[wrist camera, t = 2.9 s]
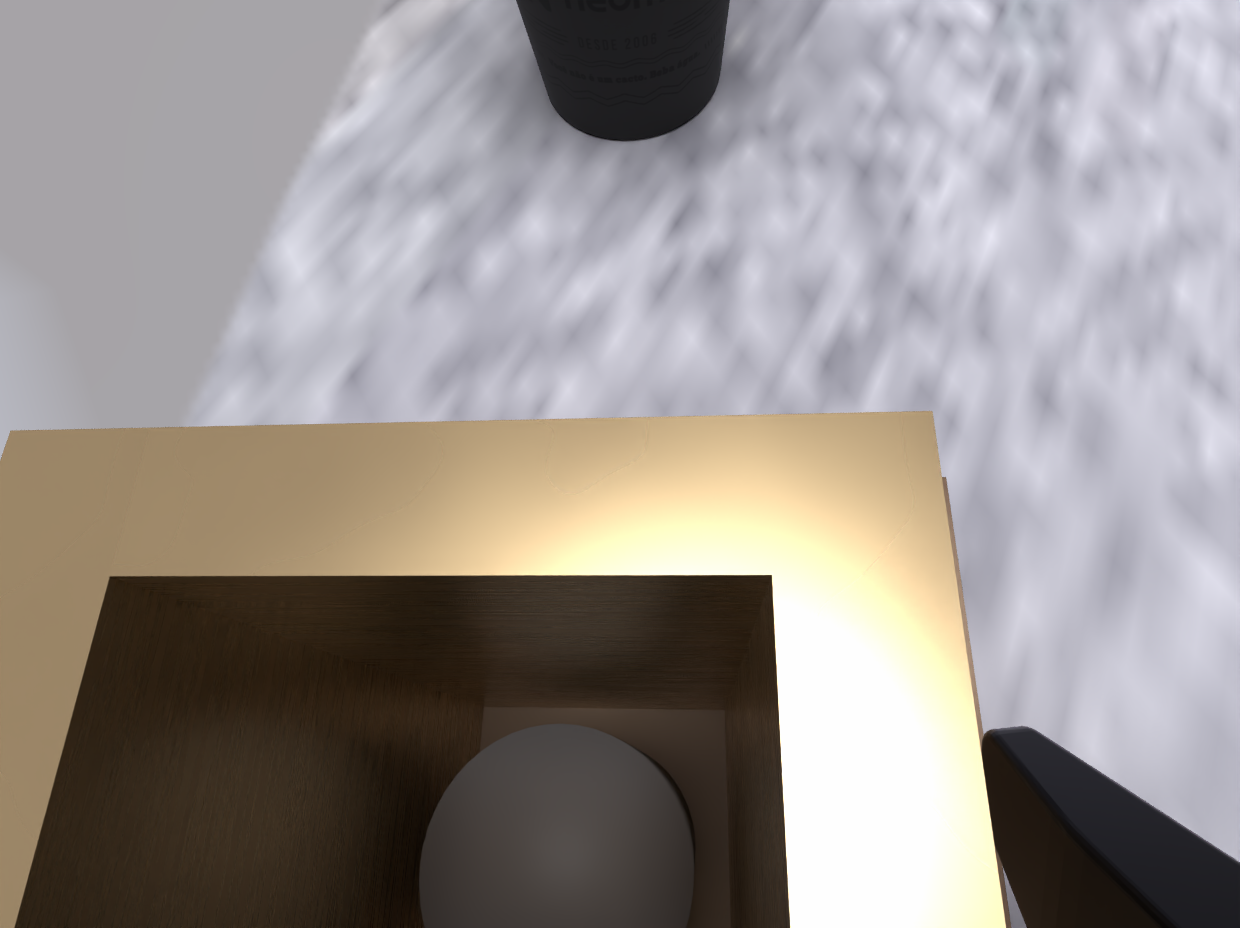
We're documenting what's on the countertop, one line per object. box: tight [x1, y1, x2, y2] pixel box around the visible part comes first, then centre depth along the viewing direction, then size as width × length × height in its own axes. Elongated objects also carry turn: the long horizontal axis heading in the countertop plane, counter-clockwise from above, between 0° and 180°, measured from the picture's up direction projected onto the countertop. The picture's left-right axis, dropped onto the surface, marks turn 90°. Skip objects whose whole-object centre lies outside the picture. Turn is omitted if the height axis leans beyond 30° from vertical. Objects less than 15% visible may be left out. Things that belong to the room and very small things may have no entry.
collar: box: [0, 411, 1006, 928], centre depth 8 cm, size 6×6×9 cm
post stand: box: [419, 477, 1011, 928], centre depth 11 cm, size 12×12×6 cm
